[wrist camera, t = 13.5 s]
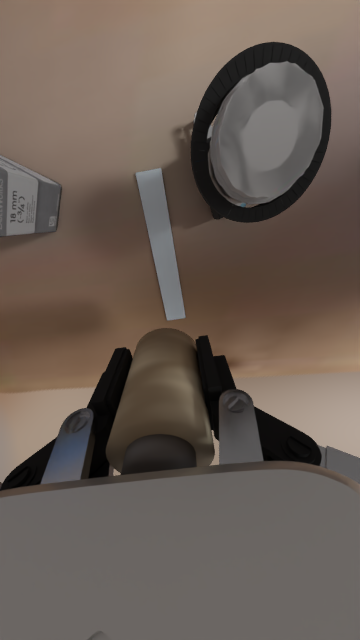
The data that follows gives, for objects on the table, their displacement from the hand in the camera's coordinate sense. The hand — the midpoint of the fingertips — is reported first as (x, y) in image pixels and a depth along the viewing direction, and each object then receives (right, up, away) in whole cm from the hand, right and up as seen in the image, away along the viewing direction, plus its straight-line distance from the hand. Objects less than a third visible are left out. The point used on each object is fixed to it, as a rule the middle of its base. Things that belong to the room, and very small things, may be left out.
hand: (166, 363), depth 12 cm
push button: (+4, +14, +4) cm, 15 cm away
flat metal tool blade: (-1, +8, +6) cm, 11 cm away
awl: (0, 0, +1) cm, 1 cm away
